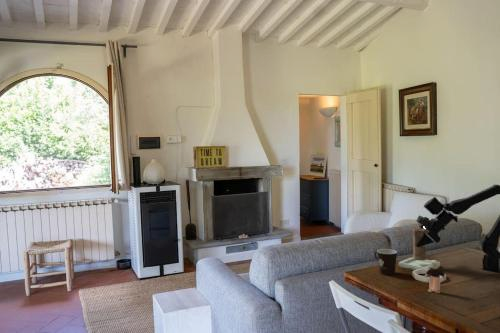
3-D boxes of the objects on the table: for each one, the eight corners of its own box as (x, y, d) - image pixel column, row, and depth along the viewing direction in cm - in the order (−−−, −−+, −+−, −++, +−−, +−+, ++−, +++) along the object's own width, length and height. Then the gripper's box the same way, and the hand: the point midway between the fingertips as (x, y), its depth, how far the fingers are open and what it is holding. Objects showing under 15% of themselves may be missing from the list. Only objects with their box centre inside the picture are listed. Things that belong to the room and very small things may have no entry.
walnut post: (423, 257, 192) (422, 228, 191) (425, 260, 188) (425, 230, 187) (413, 257, 193) (412, 228, 192) (415, 260, 188) (414, 230, 188)
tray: (440, 266, 189) (440, 262, 189) (425, 272, 181) (425, 268, 181) (413, 260, 200) (413, 256, 200) (398, 266, 192) (398, 262, 191)
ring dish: (450, 277, 173) (450, 273, 173) (435, 284, 166) (435, 279, 166) (422, 271, 183) (422, 267, 183) (408, 277, 175) (407, 273, 175)
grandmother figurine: (425, 292, 158) (424, 260, 157) (424, 289, 161) (424, 258, 160) (446, 294, 155) (446, 262, 154) (446, 291, 158) (445, 259, 158)
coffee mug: (400, 275, 178) (399, 253, 178) (380, 276, 178) (380, 254, 178) (391, 268, 190) (391, 247, 189) (373, 268, 190) (372, 247, 189)
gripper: (422, 206, 197) (399, 229, 200) (432, 213, 179) (406, 237, 182) (440, 222, 196) (417, 244, 199) (451, 230, 178) (425, 255, 181)
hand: (416, 245), depth 190 cm, fingers closed on walnut post, 5 cm apart
